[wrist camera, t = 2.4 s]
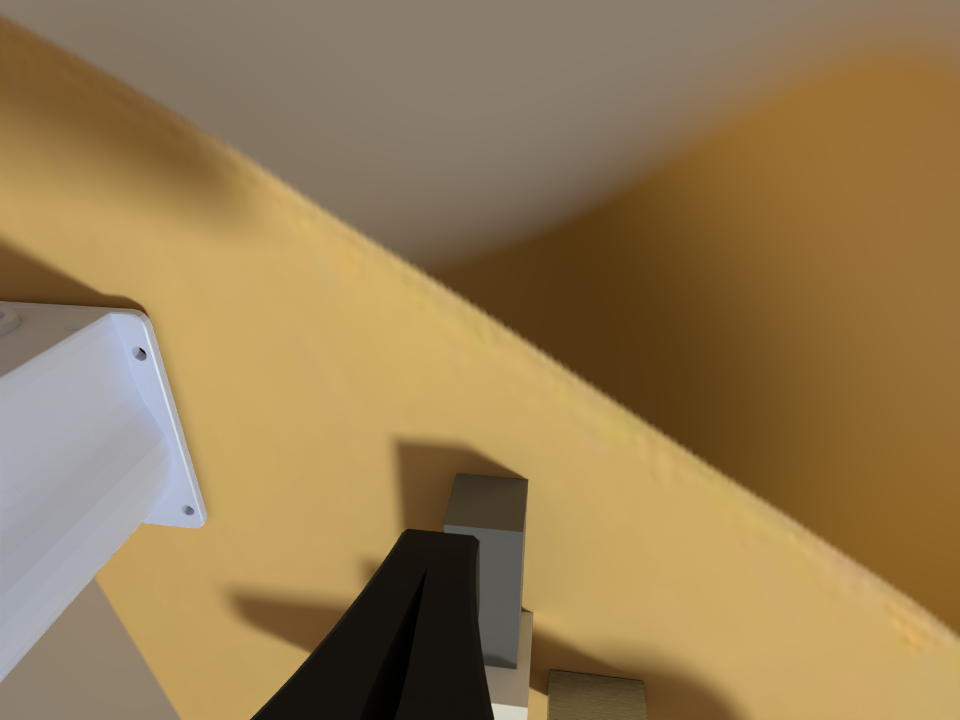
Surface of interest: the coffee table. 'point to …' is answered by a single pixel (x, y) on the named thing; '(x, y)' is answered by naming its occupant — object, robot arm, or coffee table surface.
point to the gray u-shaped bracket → (594, 697)
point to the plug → (498, 582)
